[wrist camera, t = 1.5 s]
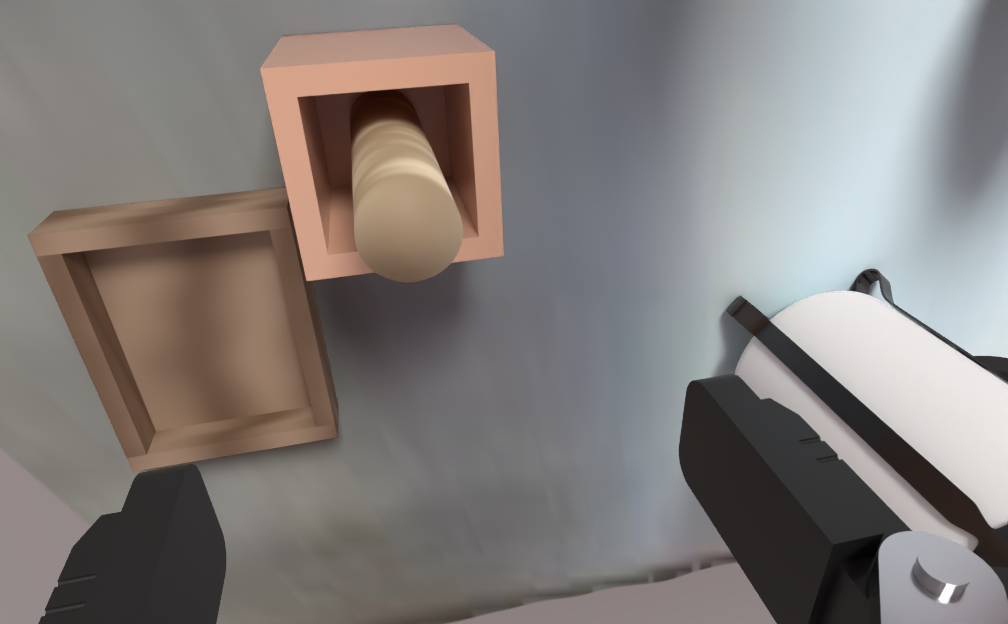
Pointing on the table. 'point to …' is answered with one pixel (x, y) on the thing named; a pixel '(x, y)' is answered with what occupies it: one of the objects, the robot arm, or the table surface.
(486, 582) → the table surface
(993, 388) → the coffee press
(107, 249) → the tray
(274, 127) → the pink open box
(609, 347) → the table surface
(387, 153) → the dowel
